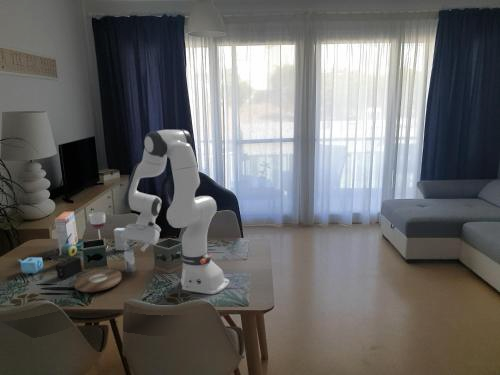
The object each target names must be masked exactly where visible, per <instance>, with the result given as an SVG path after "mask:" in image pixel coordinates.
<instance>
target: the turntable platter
mask: <svg viewBox="0 0 500 375" xmlns="http://www.w3.org/2000/svg"><path fill="white" fill-rule="evenodd" d="M122 277H123V276H122V273H121V271H120V270H117V269H115V268H114V269H113V268H101V269H94V270H91V271H87V272H85V273H83V274H80V275H79V276H78V277H77V278H75V280H74V283H73V284H74V286H73V287H74V289H75V290H77V291H79V292H83V293H97V292H102V291H106V290H108V289H112V288H113V287H115V286H116V285H118V284H119V283H120V282H121V281H122ZM96 291H97V292H96Z"/></svg>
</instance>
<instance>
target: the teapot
mask: <svg viewBox="0 0 500 375" xmlns="http://www.w3.org/2000/svg"><path fill="white" fill-rule="evenodd" d="M17 261H18V262H19V263H20V269H21V274H25V275H29V274H32V275H36V274H37V273H39V272H41V270H43V269H44V261H43V257H27V258H26V259H24V260H22V259H17Z"/></svg>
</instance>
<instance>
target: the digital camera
mask: <svg viewBox="0 0 500 375" xmlns="http://www.w3.org/2000/svg"><path fill="white" fill-rule="evenodd" d="M55 271H56V273H57V279H58V278H59V280H63V281H65V280H67V279H70V278H71V277H73V276H75V275H77V274H80V273H82V272H83V269H82V259H81V258H80V257H76V256H74V257H73V256H72V257H70V259H69V260H68V259H66V260H65V261H62V262H58V263H56V264H55Z"/></svg>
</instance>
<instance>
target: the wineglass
mask: <svg viewBox="0 0 500 375" xmlns="http://www.w3.org/2000/svg"><path fill="white" fill-rule="evenodd" d="M88 218H89V222H90V226H92V228H94V229H97V231H98V232H97V233H98V240H99V239H101V231H100V229H101V228H103V227H104V226H105V224H106V213H105V212H103V211H98V212H96V211H95V212H91V213H89V214H88ZM108 247H109V246H108V245H107V248H108Z"/></svg>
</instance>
